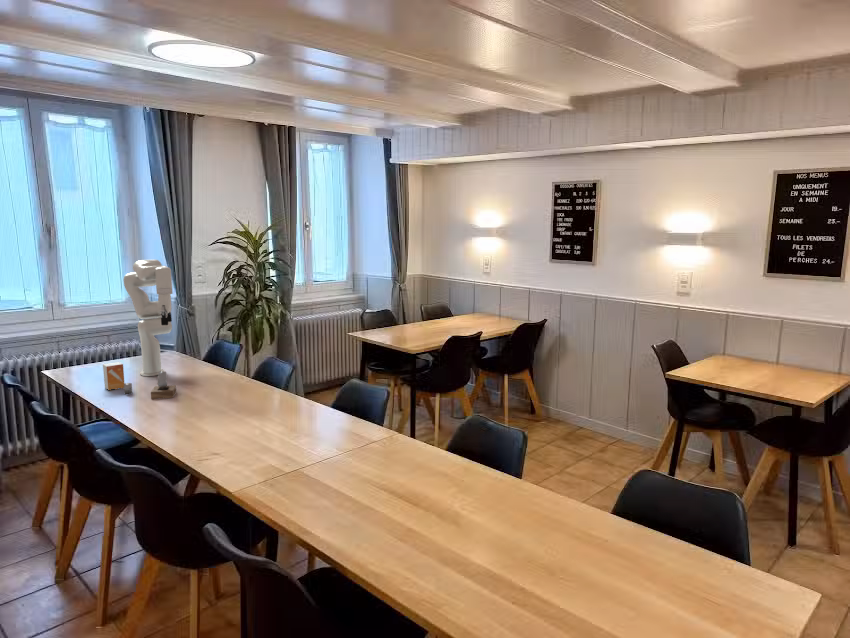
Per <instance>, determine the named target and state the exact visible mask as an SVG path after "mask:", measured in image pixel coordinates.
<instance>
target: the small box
mask: <svg viewBox="0 0 850 638" xmlns="http://www.w3.org/2000/svg"><path fill="white" fill-rule="evenodd" d="M102 371H103V382H104V389H105V388H106V389H105V390H107V389H108V390H110V391H112V390H111V389H115V390H119V389H118V388H121V389H124V384H125V383H126V382H125V374H124V373H125V371H124V363H122V362H121V361H117V362H110V363H104V364H102ZM108 390H107V391H108Z"/></svg>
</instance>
